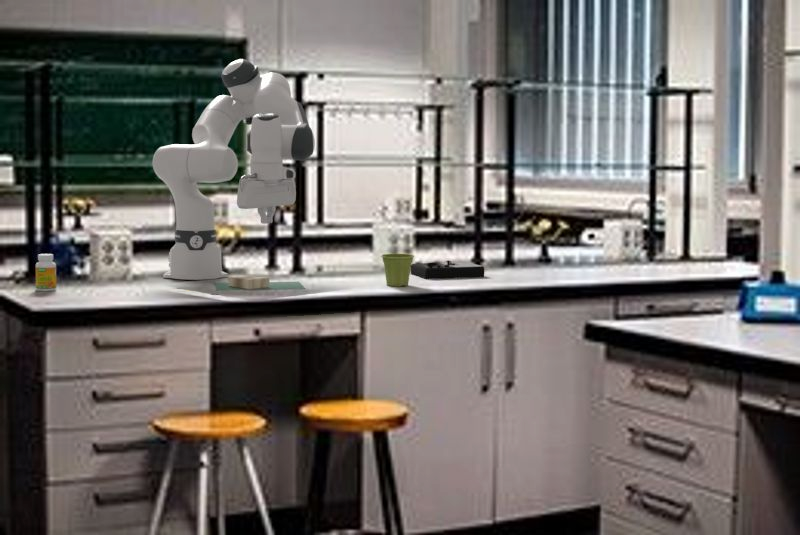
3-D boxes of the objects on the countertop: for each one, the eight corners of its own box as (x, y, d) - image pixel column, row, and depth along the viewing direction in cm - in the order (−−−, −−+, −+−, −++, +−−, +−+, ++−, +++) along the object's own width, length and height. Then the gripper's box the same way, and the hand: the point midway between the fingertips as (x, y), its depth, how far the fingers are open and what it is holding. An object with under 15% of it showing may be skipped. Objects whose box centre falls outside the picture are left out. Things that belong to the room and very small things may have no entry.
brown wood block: (248, 284, 360) (228, 286, 355) (248, 274, 359) (228, 276, 354) (269, 287, 353) (249, 289, 348) (269, 277, 353) (249, 279, 348)
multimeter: (409, 275, 398) (410, 259, 397) (467, 273, 404) (467, 257, 404) (425, 280, 385) (426, 264, 385) (484, 278, 392) (485, 262, 392)
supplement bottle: (35, 291, 348) (34, 255, 347) (36, 289, 354) (35, 253, 352) (56, 291, 350) (55, 255, 348) (56, 288, 355) (56, 253, 354)
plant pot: (411, 288, 365) (411, 257, 364) (378, 287, 367) (378, 256, 366) (416, 283, 374) (416, 254, 373) (384, 282, 376) (384, 253, 375)
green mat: (213, 286, 362) (213, 282, 362) (298, 285, 367) (298, 281, 367) (216, 294, 347) (216, 290, 347) (305, 293, 351) (305, 289, 351)
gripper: (248, 175, 345) (248, 227, 347) (299, 171, 361) (299, 221, 363) (231, 174, 349) (231, 225, 350) (282, 170, 365) (282, 219, 367)
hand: (266, 223), depth 357 cm, fingers closed
